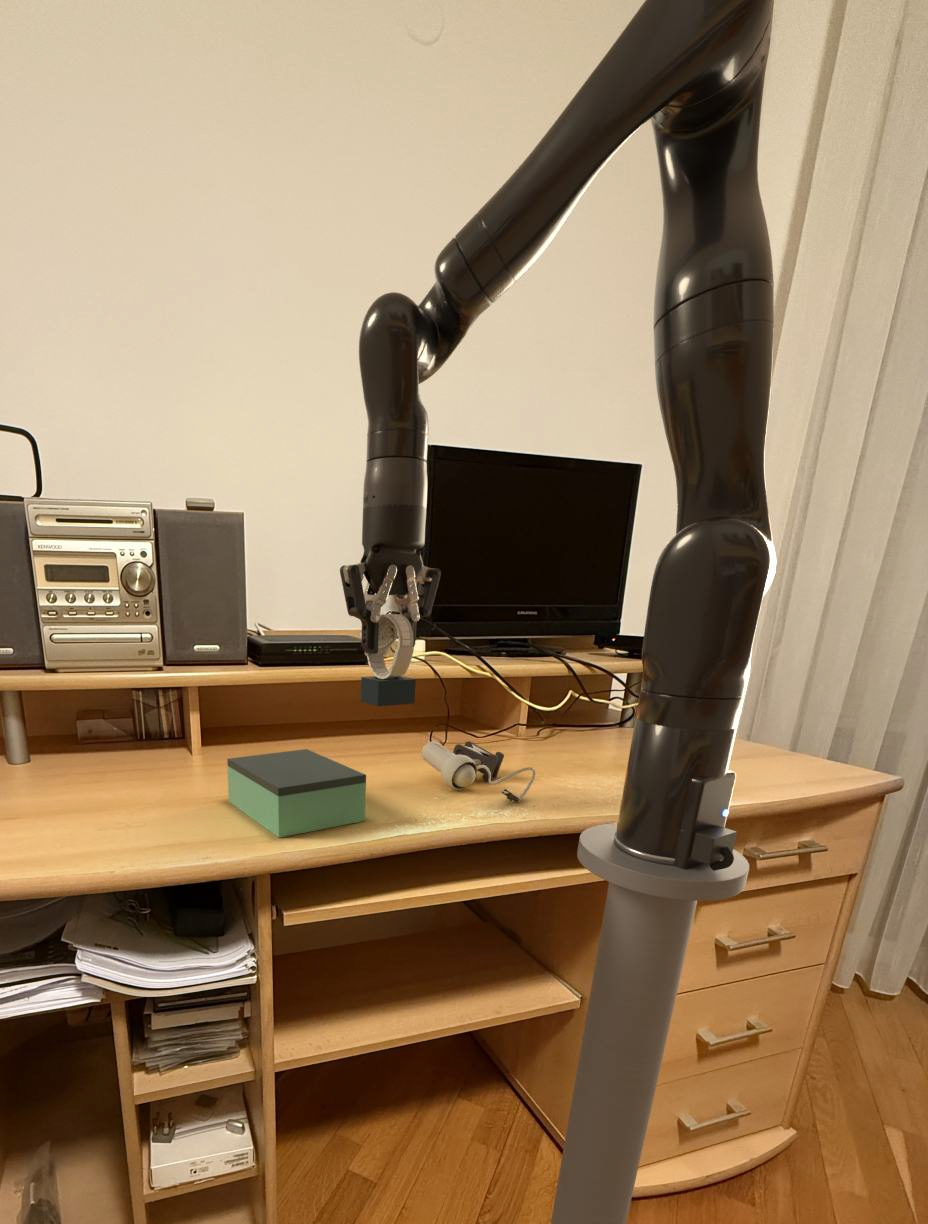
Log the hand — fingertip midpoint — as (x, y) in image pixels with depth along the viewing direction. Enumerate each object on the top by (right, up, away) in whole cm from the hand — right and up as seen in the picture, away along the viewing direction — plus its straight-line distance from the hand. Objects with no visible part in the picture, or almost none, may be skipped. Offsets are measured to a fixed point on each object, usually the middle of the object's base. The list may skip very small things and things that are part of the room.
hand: (388, 652), depth 80 cm
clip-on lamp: (+15, -17, +13) cm, 26 cm away
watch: (0, -6, +2) cm, 7 cm away
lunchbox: (-12, -20, +2) cm, 24 cm away
